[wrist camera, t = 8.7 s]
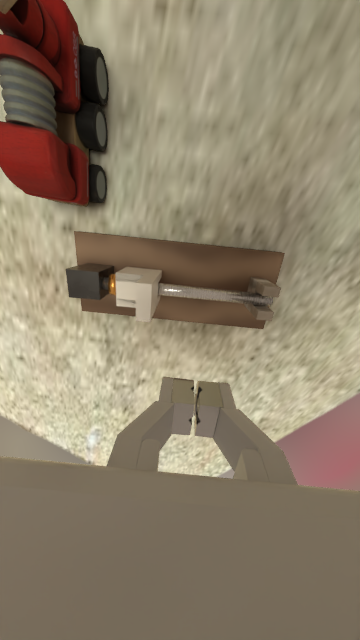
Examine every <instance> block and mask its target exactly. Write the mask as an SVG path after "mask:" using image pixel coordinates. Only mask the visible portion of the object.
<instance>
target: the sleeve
mask: <svg viewBox="0 0 360 640" xmlns="http://www.w3.org/2000/svg"><path fill="white" fill-rule="evenodd" d="M115 274H116V306H122V307H132V308H136V321H143V322H151V319H152V317H153V314H154V312H155V310H156V307H157V305H158V303H159V300H160V295H158V282H159V281H160V279H161V277H162V270H154V269H144V268H134V267H125V268H124V269H122V270H120V271H118V272H116V273H115Z"/></svg>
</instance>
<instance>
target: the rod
mask: <svg viewBox="0 0 360 640" xmlns="http://www.w3.org/2000/svg"><path fill="white" fill-rule="evenodd" d="M66 275H67V283H68V291H69V297H73V298H83V299H93V300H101V299H102V298H104V297H105V296H106V295H108V294H109V293H110V294H111V295H116V274H114V266H112V265H102V264H92V263H85V264H82V265H78V266H75V267H71V268H67V269H66ZM158 295H164V296H174V297H184V298H193V299H203V300H213V301H223V302H233V303H243V304H253V305H262V306H271V304H272V302H273V297H270V296H262V295H261V294H260V293H253V292H243V291H233V290H223V289H213V288H203V287H194V286H184V285H174V284H164V283H158Z"/></svg>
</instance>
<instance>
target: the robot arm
mask: <svg viewBox="0 0 360 640" xmlns="http://www.w3.org/2000/svg"><path fill="white" fill-rule="evenodd" d="M172 388H173V389H172ZM193 389H194V380H187V379H179V378H174V380H173V378H170V377H163V379H162V385H161V390H160V396H159V402H158V401H155V402H154V403H153V404H152V405H151V406H150V407H148V408H147V409H146V410H145V411H144V412H143V413H142V414H141V415H139V416H138V417H137V418H136V419H135V420H134V421H133V422H132V423H130V424H129V425H128V426H127V427H126V428H125V429H124V430H123V431H122V432H120V433H119V434H118V435H117V438H116V441H115V444H114V447H113V450H112V452H111V455H110V458H109V461H108V464H107V466H97V465H86V464H76V463H65V462H54V461H45V460H35V459H25V458H14V457H3V456H0V640H360V491H353V490H342V489H333V488H323V487H312V486H302V485H298V484H297V482H296V479H295V477H294V475H293V472H292V470H291V468H290V466H289V463H288V461H287V459H286V456H285V454H284V452H283V451H282V450H281V449H280V448H279V447H278V446H277V445H276V444H275V443H274V442H273V441H272V440H271V439H270V438H269V437H268V436H267V435H266V434H264V433H263V432H262V431H261V430H260V429H259V428H258V427H257V426H256V425H255V424H254V423H253V422H252V421H251V420H250V419H249V418H248V417H247V416H246V415H245V414H244V413H243V412H242V411H240V410H239V409H236V406H235V403H234V399H233V396H232V392H231V389H230V385H229V384H228V383H219V382H218V383H216V382H205V381H198V382H197V386H196V391H197V393H196V394H195V397H194V392H193ZM193 413H194V415H195V421H194V428H195V436H202V437H209V438H213V439H214V441H215V442H216V444H217V445H218V447H219V448H220V450H221V452H222V453H223V455H224V456H225V458H226V459H227V461H228V462H229V464H230V466H231V467H232V469H233V470H234V472H235V473H234V476H233V479H229V478H219V477H209V476H199V475H189V474H179V473H168V472H158V463H159V451H160V450H161V448H162V447H163V446H164V444H165V443H166V441H167V440H168V439H169V437H170V436H171V434H181V435H190V431H191V425H192V417H193Z"/></svg>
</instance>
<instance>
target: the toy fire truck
mask: <svg viewBox="0 0 360 640" xmlns="http://www.w3.org/2000/svg"><path fill="white" fill-rule="evenodd" d="M0 29H1V30H2V32H3V34H4V35H2V34H0V75H1V76H0V85H1V87H2V88H3V90H2V97H3V99H4V100H5V103H4V110H5V111H6V113H7V115H6V117H5V118H6V122H1V121H0V167H1V169H2V170H3V172H4V173H5V175H6V176H7V177H8V178H9V180H10V181H11V182H12V183H14V184H15V185H16V186H17V187H18V188H20V189H21V190H23V192H25V193H26V194H29V195H32V196H37V197H41V198H46V199H49V200H53V201H57V202H63V203H68V204H74V205H80V206H87V205H88V203H89V201H92V202H97V203H102V202H104V200H105V197H106V191H107V187H106V186H107V185H106V176H105V172H104V170H103V168H102V167H101V166H98V165H93V164H91V165H89V149H92V150H98V151H104V150H105V148H106V145H107V126H106V119H105V115H104V112H103V110H102V108H101V106H100V105H99V104H102V105H104V104H106V103H107V99H108V89H109V88H108V75H107V69H106V64H105V60H104V56H103V54H102V53H101V50H100V49H98V48H94V47H90V46H86V45H84V44H83V41H82V39H81V37H80V35H79V32H78V26H77V23H76V22H75V20H74V18H73V16H72V14H71V12H70V10H69V8H68V6H67V5H66V3H65V2H64V1H63V0H0ZM89 102H92V103H89ZM95 103H97V104H95Z"/></svg>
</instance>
